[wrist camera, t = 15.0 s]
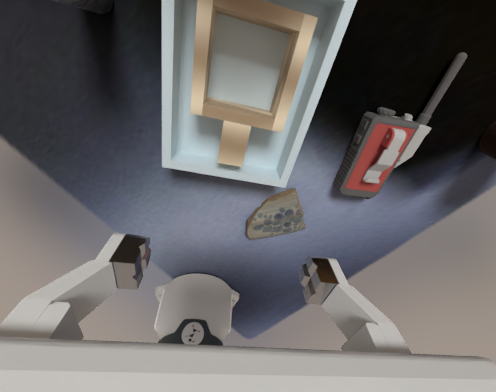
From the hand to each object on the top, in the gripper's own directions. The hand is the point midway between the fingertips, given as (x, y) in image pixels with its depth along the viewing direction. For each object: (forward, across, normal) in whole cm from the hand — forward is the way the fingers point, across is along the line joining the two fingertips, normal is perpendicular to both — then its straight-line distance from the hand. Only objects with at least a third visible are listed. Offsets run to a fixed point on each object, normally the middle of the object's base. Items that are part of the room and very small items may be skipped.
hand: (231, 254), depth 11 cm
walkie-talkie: (+21, -20, -4) cm, 30 cm away
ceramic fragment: (+21, -9, +12) cm, 26 cm away
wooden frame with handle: (+20, 0, -5) cm, 20 cm away
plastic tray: (+20, 0, -5) cm, 21 cm away
